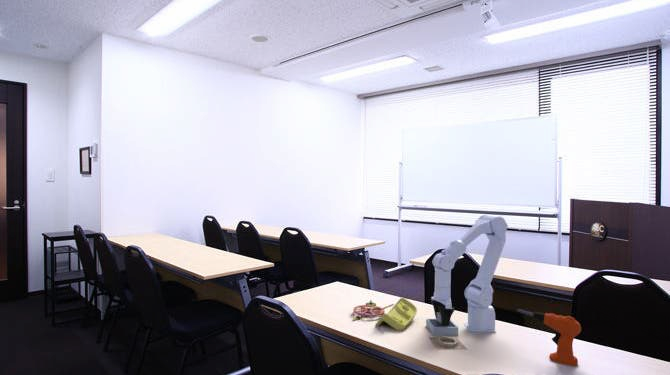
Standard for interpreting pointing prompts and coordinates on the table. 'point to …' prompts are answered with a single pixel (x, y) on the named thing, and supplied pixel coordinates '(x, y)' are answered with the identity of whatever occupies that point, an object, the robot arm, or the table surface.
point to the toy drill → (560, 335)
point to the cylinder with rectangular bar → (439, 320)
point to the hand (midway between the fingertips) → (441, 322)
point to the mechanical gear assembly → (369, 310)
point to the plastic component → (399, 315)
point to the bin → (441, 328)
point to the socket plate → (447, 343)
